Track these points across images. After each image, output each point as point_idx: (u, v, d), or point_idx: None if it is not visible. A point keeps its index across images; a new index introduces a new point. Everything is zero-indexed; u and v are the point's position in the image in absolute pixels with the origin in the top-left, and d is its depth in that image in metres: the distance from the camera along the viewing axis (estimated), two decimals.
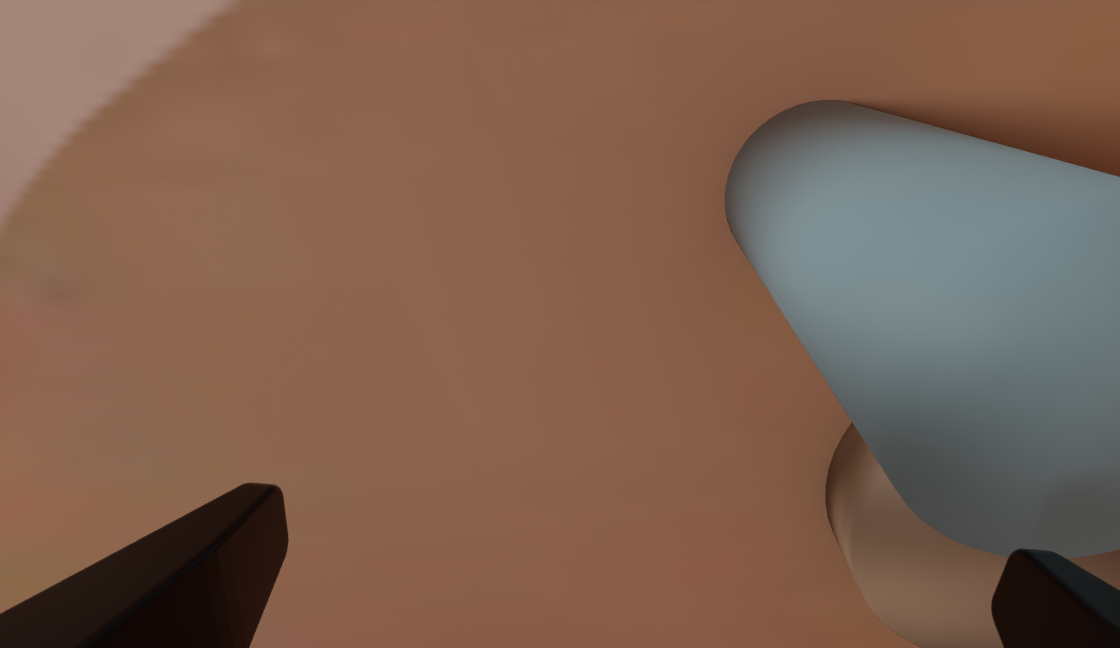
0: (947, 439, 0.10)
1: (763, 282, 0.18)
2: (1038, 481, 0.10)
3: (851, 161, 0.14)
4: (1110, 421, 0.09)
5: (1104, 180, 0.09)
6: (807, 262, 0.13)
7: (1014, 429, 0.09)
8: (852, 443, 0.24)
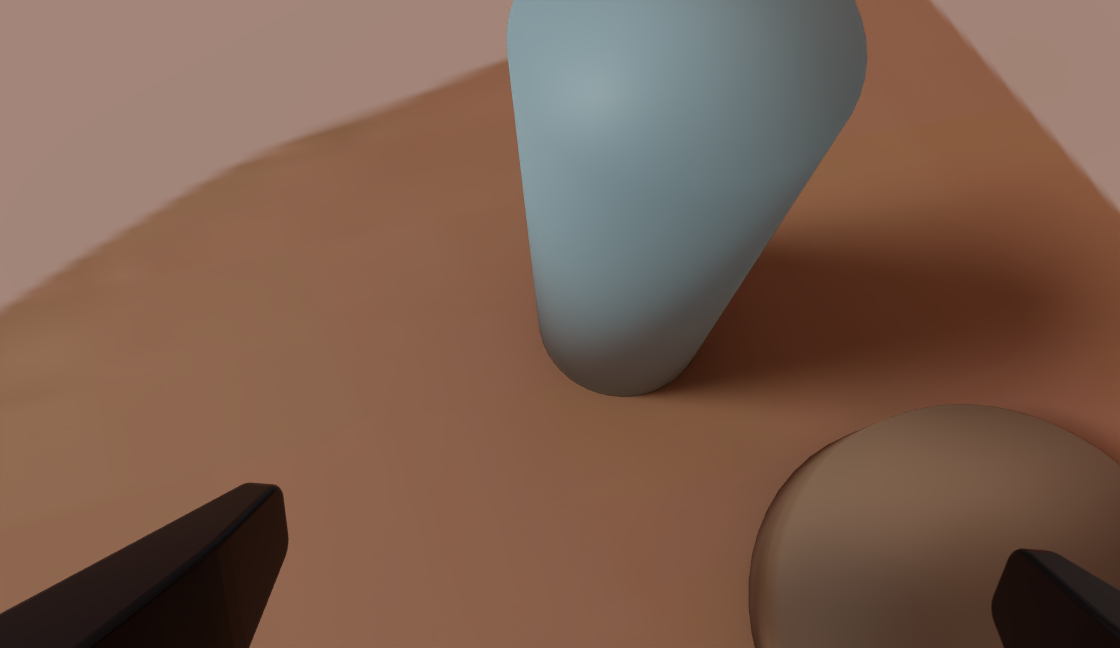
0: (583, 88, 0.10)
1: (555, 322, 0.18)
2: (685, 111, 0.10)
3: None
4: (714, 49, 0.10)
5: None
6: None
7: (639, 70, 0.10)
8: (756, 572, 0.19)
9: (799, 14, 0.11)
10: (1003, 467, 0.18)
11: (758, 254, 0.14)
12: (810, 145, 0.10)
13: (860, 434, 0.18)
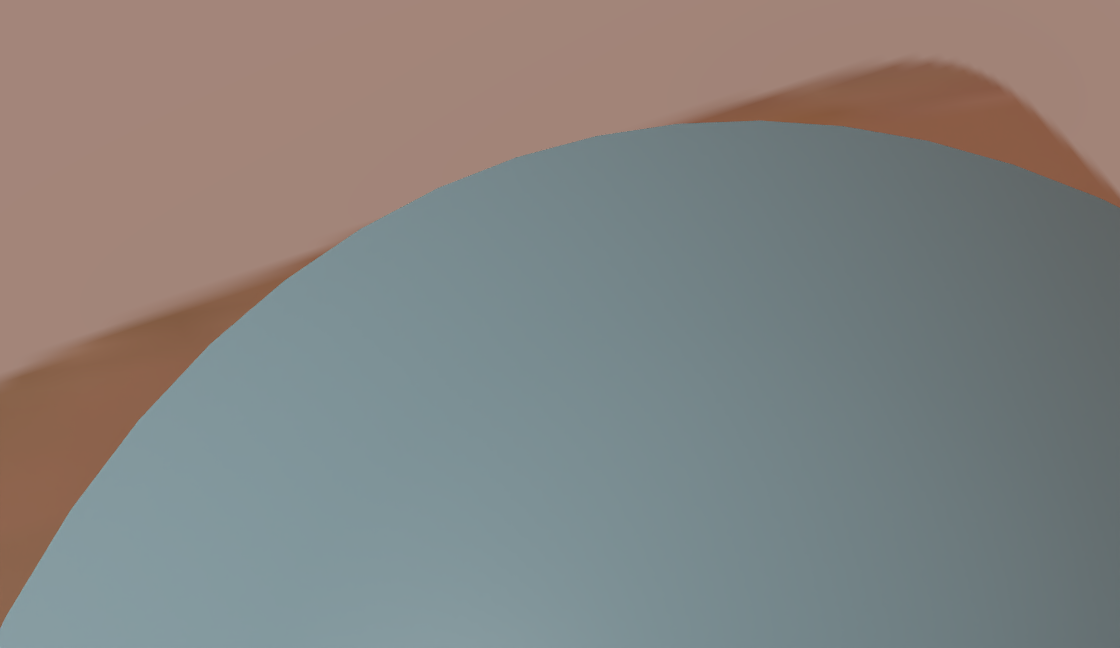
0: None
1: None
2: None
3: None
4: None
5: None
6: None
7: None
8: None
9: None
10: None
11: None
12: None
13: None
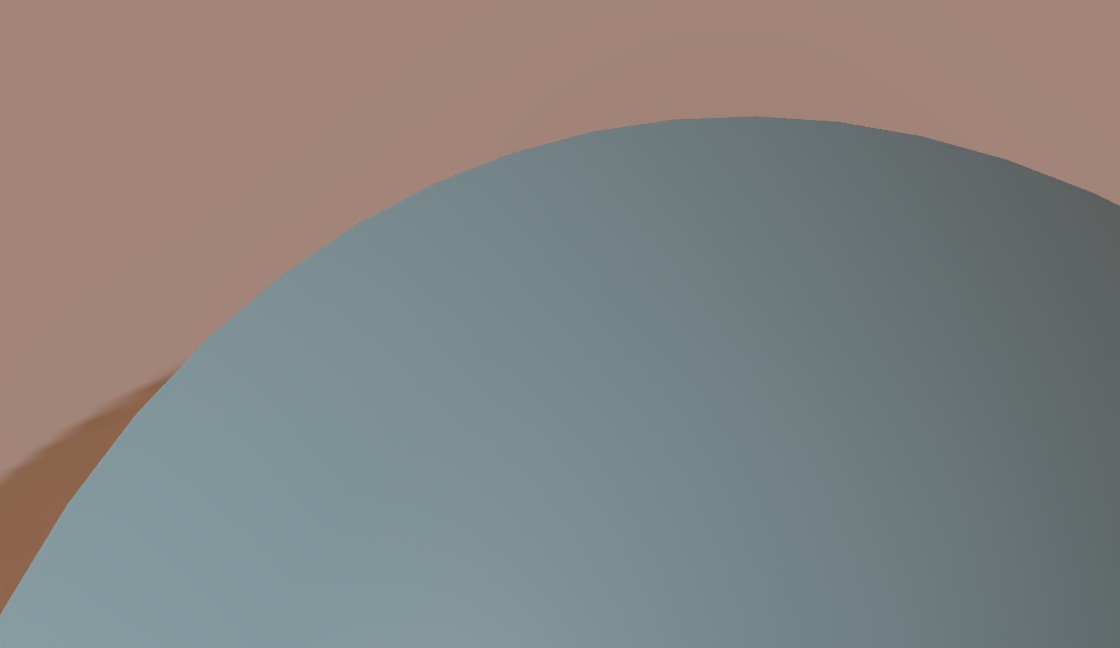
0: None
1: None
2: None
3: None
4: None
5: None
6: None
7: None
8: None
9: None
10: None
11: None
12: None
13: None
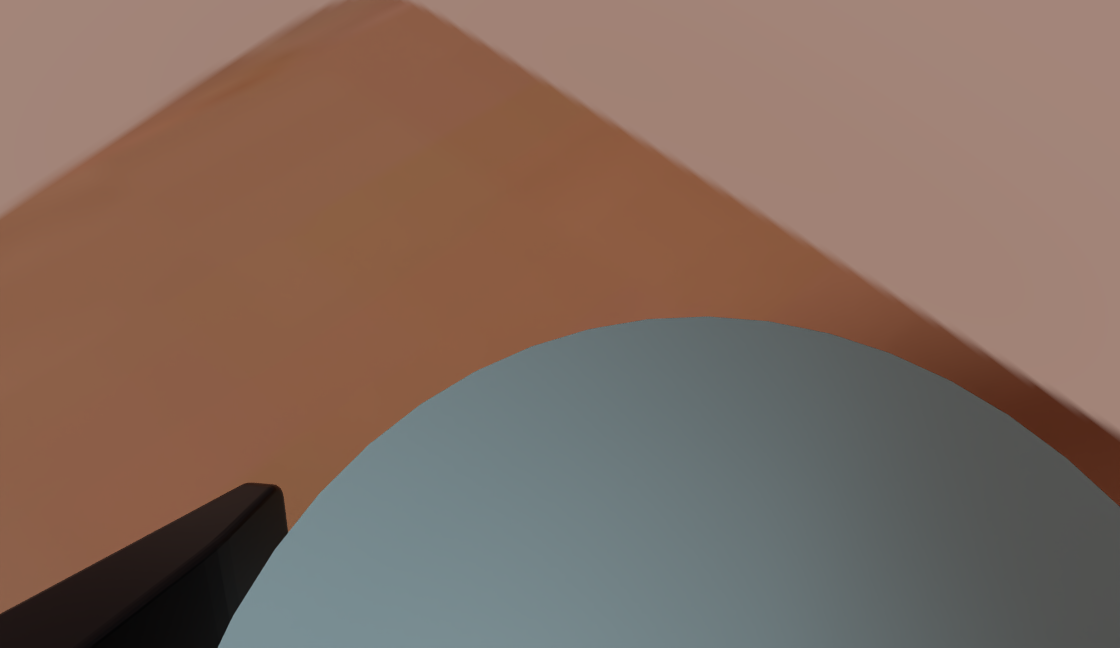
0: None
1: None
2: None
3: None
4: None
5: None
6: None
7: None
8: None
9: None
10: None
11: None
12: None
13: None
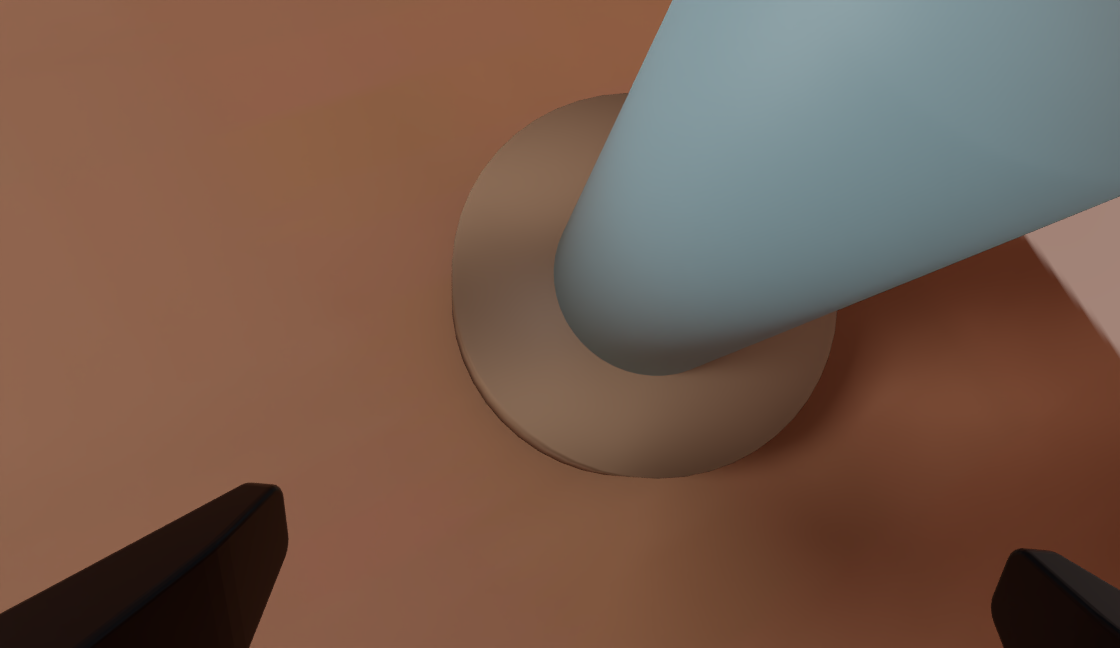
0: None
1: (597, 267, 0.14)
2: (1027, 21, 0.06)
3: None
4: None
5: None
6: (649, 53, 0.10)
7: None
8: None
9: None
10: None
11: None
12: None
13: (527, 126, 0.19)
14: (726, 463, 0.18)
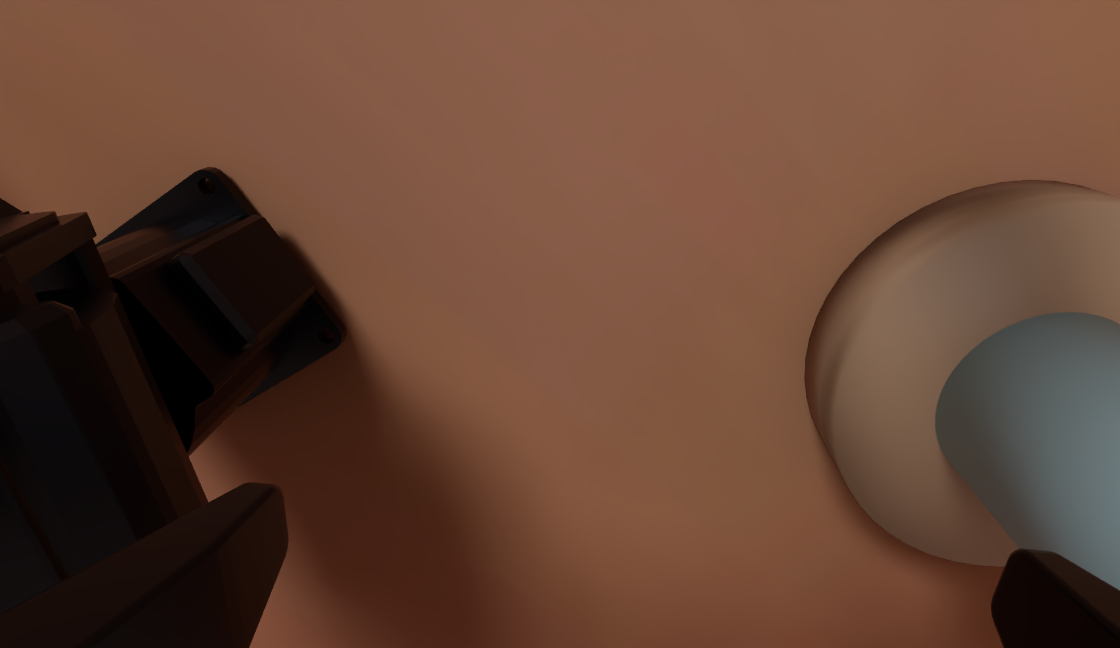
0: None
1: (1107, 427, 0.14)
2: None
3: None
4: None
5: None
6: None
7: None
8: (996, 191, 0.18)
9: None
10: None
11: None
12: None
13: None
14: (859, 501, 0.20)
